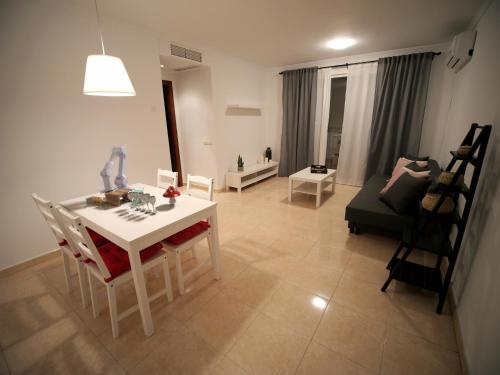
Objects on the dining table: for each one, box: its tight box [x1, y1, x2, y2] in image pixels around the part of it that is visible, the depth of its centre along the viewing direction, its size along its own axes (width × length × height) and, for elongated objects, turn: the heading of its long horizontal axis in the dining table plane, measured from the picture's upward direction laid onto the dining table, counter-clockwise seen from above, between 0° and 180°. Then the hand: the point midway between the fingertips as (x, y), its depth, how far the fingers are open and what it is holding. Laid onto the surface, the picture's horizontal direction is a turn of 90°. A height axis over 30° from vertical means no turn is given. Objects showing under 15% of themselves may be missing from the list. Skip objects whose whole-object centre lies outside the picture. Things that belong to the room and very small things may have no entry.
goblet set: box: [127, 191, 158, 214], centre depth 170 cm, size 28×6×13 cm, turn 63°
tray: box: [85, 195, 107, 207], centre depth 186 cm, size 6×18×6 cm, turn 68°
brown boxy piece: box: [103, 188, 136, 207], centre depth 187 cm, size 17×14×10 cm
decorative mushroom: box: [162, 185, 182, 205], centre depth 182 cm, size 14×14×15 cm
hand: (110, 199), depth 193 cm, fingers closed
